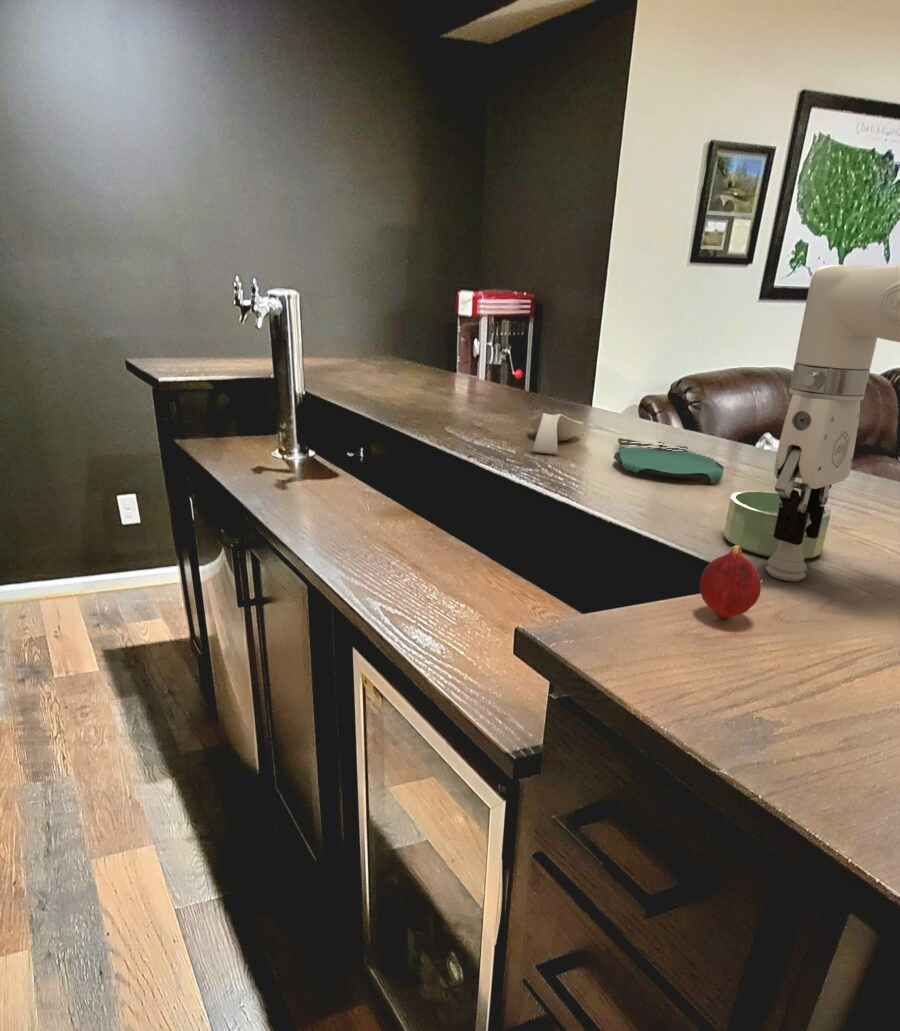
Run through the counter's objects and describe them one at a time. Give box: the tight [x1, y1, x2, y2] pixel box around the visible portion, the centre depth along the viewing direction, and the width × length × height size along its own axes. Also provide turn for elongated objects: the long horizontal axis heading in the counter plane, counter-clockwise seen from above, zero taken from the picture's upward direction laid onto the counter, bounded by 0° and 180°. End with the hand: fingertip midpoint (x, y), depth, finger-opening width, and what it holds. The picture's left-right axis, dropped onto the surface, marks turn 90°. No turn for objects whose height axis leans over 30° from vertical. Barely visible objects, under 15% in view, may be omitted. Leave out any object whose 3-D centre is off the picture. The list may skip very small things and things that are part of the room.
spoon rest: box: [528, 412, 584, 455], centre depth 152 cm, size 24×12×7 cm, turn 167°
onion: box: [699, 544, 762, 620], centre depth 74 cm, size 6×6×8 cm
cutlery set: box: [613, 437, 725, 485], centre depth 140 cm, size 20×30×2 cm, turn 171°
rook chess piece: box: [765, 514, 812, 582], centre depth 86 cm, size 4×4×8 cm
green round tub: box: [723, 490, 831, 559], centre depth 97 cm, size 12×12×6 cm
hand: (795, 536), depth 86 cm, fingers closed on rook chess piece, 3 cm apart
